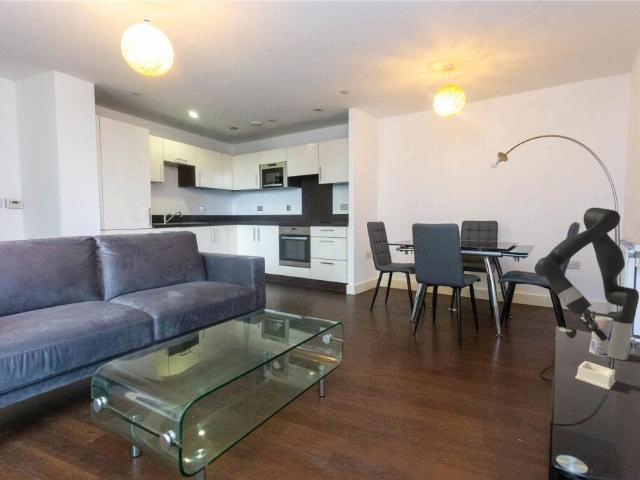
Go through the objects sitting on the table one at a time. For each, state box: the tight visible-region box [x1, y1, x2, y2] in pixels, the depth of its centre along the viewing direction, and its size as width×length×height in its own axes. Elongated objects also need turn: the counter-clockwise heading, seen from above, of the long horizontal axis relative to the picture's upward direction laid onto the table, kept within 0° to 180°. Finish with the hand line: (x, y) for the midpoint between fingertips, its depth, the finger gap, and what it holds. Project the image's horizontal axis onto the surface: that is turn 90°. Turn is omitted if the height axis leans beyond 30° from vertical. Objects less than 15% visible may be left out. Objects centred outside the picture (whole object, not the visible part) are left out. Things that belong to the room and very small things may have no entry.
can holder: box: [574, 360, 616, 390], centre depth 132 cm, size 10×10×5 cm
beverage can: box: [588, 314, 613, 358], centre depth 131 cm, size 6×6×15 cm
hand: (606, 338), depth 130 cm, fingers closed on beverage can, 5 cm apart
